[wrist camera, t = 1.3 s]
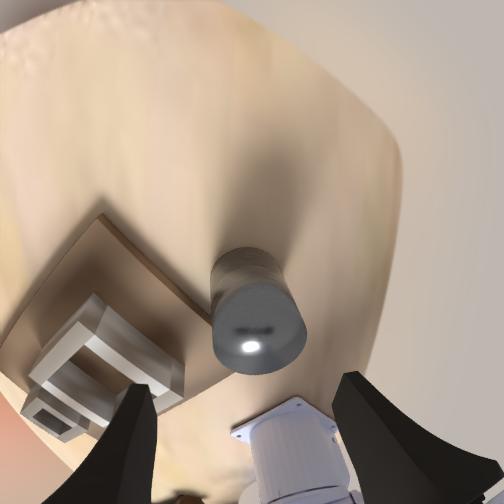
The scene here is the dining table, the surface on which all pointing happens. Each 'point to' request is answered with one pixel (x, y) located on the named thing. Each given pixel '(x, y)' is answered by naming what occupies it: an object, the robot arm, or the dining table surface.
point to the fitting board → (107, 338)
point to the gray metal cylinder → (253, 314)
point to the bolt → (188, 500)
